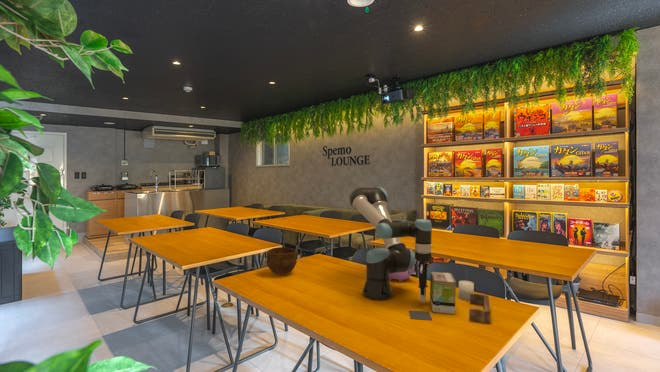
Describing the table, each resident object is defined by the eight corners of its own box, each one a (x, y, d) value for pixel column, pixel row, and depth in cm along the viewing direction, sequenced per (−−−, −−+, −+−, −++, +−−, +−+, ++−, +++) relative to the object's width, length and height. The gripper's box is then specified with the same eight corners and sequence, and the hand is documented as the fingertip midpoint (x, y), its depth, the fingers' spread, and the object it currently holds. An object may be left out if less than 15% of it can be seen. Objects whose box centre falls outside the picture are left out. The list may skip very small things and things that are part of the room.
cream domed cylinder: (458, 299, 169) (458, 283, 169) (458, 295, 175) (459, 279, 175) (473, 301, 166) (473, 285, 166) (473, 297, 172) (473, 281, 172)
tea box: (455, 314, 151) (456, 281, 150) (432, 312, 153) (433, 280, 152) (450, 302, 165) (451, 272, 165) (429, 300, 167) (430, 270, 167)
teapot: (422, 279, 201) (422, 256, 200) (411, 286, 188) (412, 262, 188) (388, 272, 214) (389, 251, 213) (376, 278, 201) (377, 256, 201)
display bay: (469, 320, 144) (469, 309, 144) (470, 302, 164) (470, 292, 164) (489, 324, 141) (490, 312, 141) (488, 305, 161) (488, 295, 161)
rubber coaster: (410, 320, 145) (410, 318, 145) (408, 312, 154) (408, 310, 154) (432, 321, 144) (432, 319, 144) (428, 313, 153) (429, 311, 153)
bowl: (295, 278, 200) (295, 253, 200) (263, 278, 201) (263, 253, 200) (298, 269, 219) (298, 247, 219) (269, 269, 219) (269, 246, 219)
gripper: (429, 255, 154) (429, 306, 155) (433, 250, 166) (432, 297, 166) (412, 254, 157) (412, 304, 158) (417, 248, 169) (417, 295, 170)
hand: (422, 300), depth 162 cm, fingers closed
